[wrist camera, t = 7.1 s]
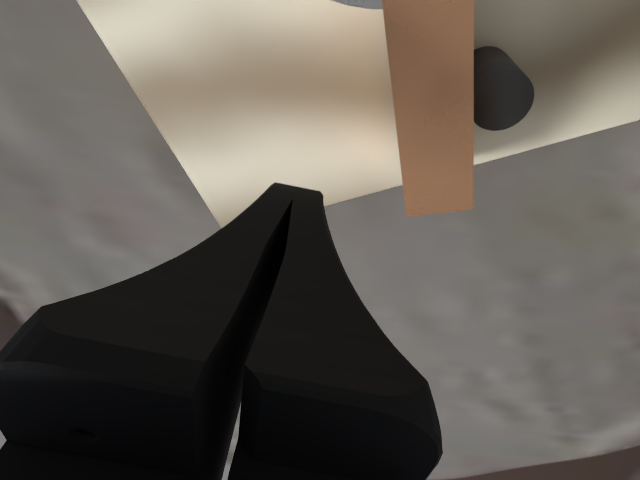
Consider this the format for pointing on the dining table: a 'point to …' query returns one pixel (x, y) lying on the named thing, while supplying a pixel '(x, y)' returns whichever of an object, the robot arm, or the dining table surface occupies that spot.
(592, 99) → the base board
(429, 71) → the grey and orange-brown pieces
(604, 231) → the dining table surface
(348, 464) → the robot arm
